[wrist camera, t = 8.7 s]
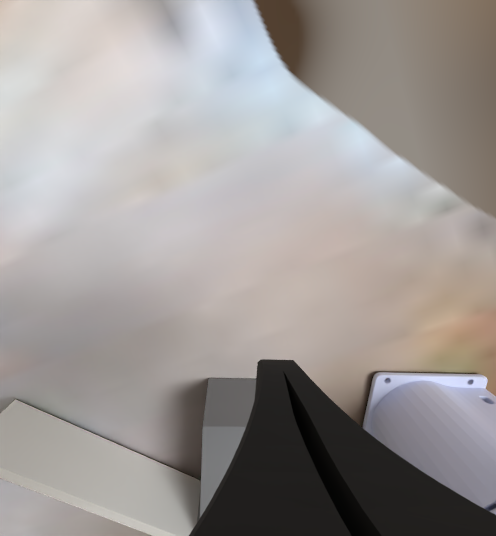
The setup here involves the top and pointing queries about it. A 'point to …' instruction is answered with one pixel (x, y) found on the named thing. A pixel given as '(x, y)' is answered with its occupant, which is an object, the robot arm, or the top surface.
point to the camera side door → (95, 473)
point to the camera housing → (223, 429)
